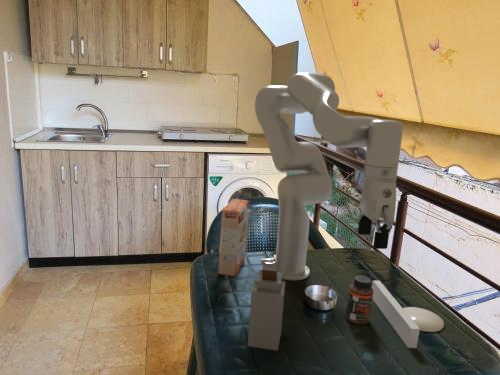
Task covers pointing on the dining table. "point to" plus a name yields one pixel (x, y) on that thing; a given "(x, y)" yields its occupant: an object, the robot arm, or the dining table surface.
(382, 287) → the low wall
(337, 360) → the dining table surface
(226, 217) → the cracker box
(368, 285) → the supplement bottle
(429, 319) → the resting pad
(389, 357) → the dining table surface
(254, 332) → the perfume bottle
